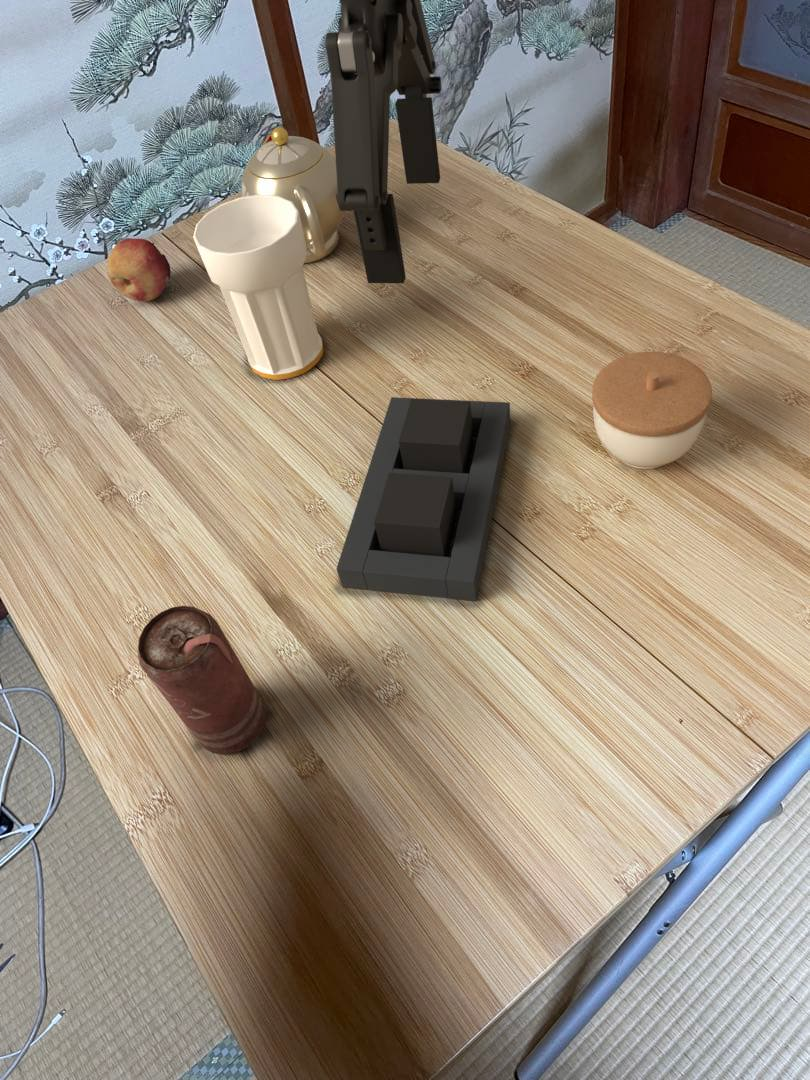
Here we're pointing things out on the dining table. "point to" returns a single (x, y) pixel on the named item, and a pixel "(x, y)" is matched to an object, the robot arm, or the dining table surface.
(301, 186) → the teapot
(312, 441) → the dining table surface
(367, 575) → the base frame
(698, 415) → the trinket box
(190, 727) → the can
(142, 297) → the fruit
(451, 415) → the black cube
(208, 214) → the cup
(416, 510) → the dark grey cube
